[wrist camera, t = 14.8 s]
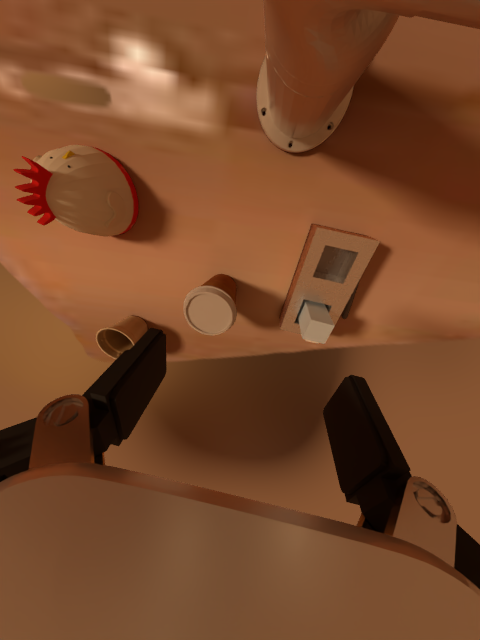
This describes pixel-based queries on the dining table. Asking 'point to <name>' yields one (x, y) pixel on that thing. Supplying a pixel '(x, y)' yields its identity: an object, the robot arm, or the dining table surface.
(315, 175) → the dining table surface
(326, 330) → the plug
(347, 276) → the panel
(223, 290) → the disposable coffee cup
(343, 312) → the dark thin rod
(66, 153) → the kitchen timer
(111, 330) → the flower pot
